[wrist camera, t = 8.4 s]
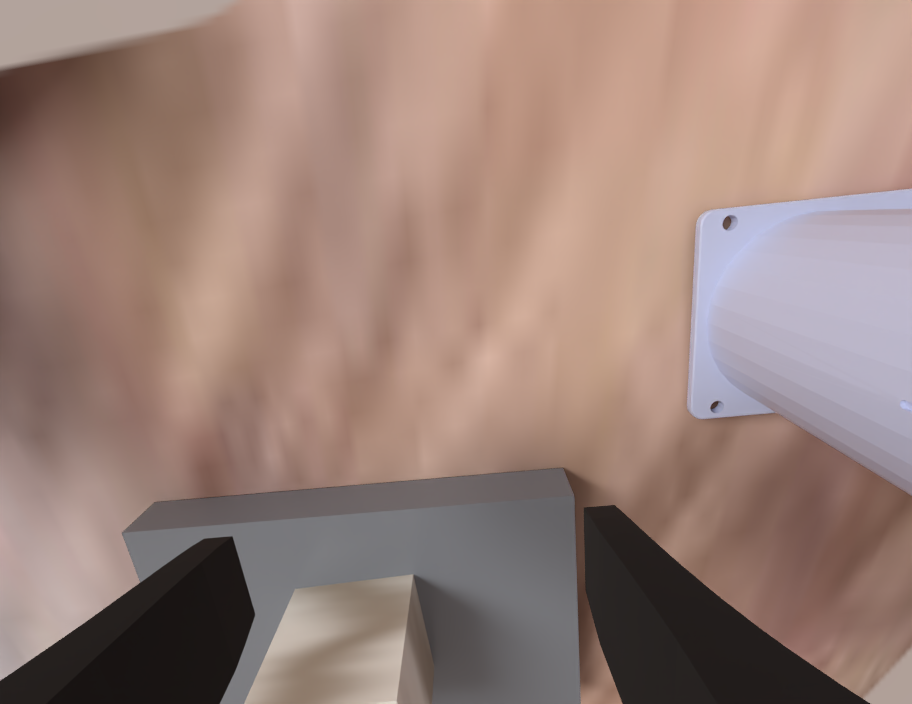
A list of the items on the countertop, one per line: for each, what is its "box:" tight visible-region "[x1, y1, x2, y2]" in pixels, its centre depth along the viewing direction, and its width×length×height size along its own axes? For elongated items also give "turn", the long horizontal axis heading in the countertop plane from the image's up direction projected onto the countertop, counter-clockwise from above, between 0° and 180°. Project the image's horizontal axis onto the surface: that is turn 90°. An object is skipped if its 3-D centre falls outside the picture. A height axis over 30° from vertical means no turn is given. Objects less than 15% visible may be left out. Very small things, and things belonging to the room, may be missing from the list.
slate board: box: [122, 468, 581, 704], centre depth 20 cm, size 18×12×2 cm, turn 96°
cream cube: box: [244, 574, 434, 704], centre depth 17 cm, size 5×5×5 cm
